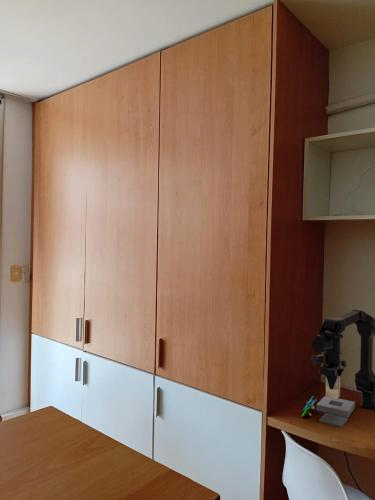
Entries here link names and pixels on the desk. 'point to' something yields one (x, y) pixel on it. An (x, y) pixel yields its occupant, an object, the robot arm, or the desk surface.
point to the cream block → (336, 391)
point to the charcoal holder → (336, 406)
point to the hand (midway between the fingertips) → (333, 387)
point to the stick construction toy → (310, 407)
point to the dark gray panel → (333, 420)
